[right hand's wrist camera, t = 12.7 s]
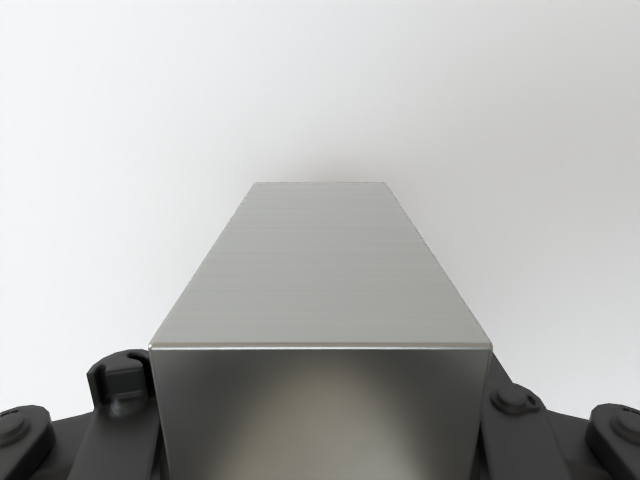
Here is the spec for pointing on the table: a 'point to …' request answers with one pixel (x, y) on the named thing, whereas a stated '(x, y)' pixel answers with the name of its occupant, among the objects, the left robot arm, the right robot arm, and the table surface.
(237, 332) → the bar
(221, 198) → the table surface
